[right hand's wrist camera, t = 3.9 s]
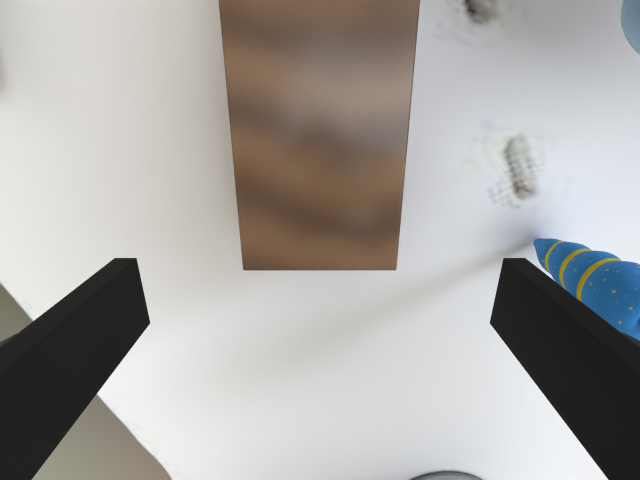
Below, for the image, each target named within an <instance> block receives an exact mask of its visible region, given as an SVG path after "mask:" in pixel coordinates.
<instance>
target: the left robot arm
mask: <svg viewBox="0 0 640 480" xmlns="http://www.w3.org/2000/svg"><path fill="white" fill-rule="evenodd" d="M621 24H622V28H623V31H624V34H625V37H626V38H627V40H628V42H629V43H630V45H631V46H632V47H633V48H634V50H635V51H636V52H638V53H639V54H640V0H624V1H623V4H622V10H621Z"/></svg>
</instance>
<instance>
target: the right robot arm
mask: <svg viewBox="0 0 640 480" xmlns="http://www.w3.org/2000/svg"><path fill="white" fill-rule="evenodd" d="M149 324H150V320H149V315H148V310H147V306H146V301H145V296H144V292H143V287H142V282H141V278H140V273H139V268H138V263H137V259H136V258H115V259H113V260H112V261H111V262H109V263H108V264H107V265H105V266H104V267H103V268H102V269H100V270H99V271H98V272H96V273H95V274H94V275H93V276H91V277H90V278H89V279H87V280H86V281H85V282H84V283H82V284H81V285H80V286H78V287H77V288H76V289H75V290H73V291H72V292H71V293H69V294H68V295H67V296H66V297H64V298H63V299H62V300H60V301H59V302H58V303H57V304H55V305H54V306H53V307H51V308H50V309H49V310H47V311H46V312H45V313H44V314H42V315H41V316H40V317H38V318H37V319H36V320H35V321H33V322H32V323H31V324H30V325H28V326H27V327H26V328H24V329H23V330H22V331H20V332H19V333H18V334H15V335H13V336H11V337H9V338H7V339H5V340H3V341H1V342H0V480H31V479H32V478H33V477H34V476H35V474H36V473H37V472H38V470H39V469H40V468H41V466H42V465H43V464H44V462H45V461H46V460H47V458H48V457H49V456H50V455H51V453H52V452H53V451H54V449H55V448H56V447H57V445H58V444H59V443H60V441H61V440H62V439H63V437H64V436H65V435H66V433H67V432H68V431H69V429H70V428H71V427H72V425H73V424H74V423H75V422H76V420H77V419H78V418H79V416H80V415H81V414H82V412H83V411H84V410H85V408H86V407H87V406H88V404H89V403H90V402H91V400H92V399H93V398H94V396H95V395H96V394H97V393H98V391H99V390H100V389H101V387H102V386H103V385H104V383H105V382H106V381H107V379H108V378H109V377H110V375H111V374H112V373H113V371H114V370H115V369H116V367H117V366H118V365H119V364H120V362H121V361H122V360H123V358H124V357H125V356H126V354H127V353H128V352H129V350H130V349H131V348H132V346H133V345H134V344H135V342H136V341H137V340H138V338H139V337H140V336H141V334H142V333H143V332H144V331H145V329H146V328H147V327H148V325H149ZM490 324H491V325H492V327H493V328H494V329H495V331H496V332H497V333H498V334H499V336H500V337H501V338H502V340H503V341H504V342H505V344H506V345H507V346H508V348H509V349H510V350H511V352H512V353H513V354H514V356H515V357H516V358H517V360H518V361H519V362H520V364H521V365H522V366H523V367H524V369H525V370H526V371H527V373H528V374H529V375H530V377H531V378H532V379H533V381H534V382H535V383H536V385H537V386H538V387H539V389H540V390H541V391H542V393H543V394H544V395H545V396H546V398H547V399H548V400H549V402H550V403H551V404H552V406H553V407H554V408H555V410H556V411H557V412H558V414H559V415H560V416H561V418H562V419H563V420H564V422H565V423H566V424H567V426H568V427H569V428H570V429H571V431H572V432H573V433H574V435H575V436H576V437H577V439H578V440H579V441H580V443H581V444H582V445H583V447H584V448H585V449H586V451H587V452H588V453H589V455H590V456H591V457H592V458H593V460H594V461H595V462H596V464H597V465H598V466H599V468H600V469H601V470H602V472H603V473H604V474H605V476H606V477H607V478H608V480H640V340H638V339H636V338H634V337H632V336H630V335H628V334H626V333H624V332H620V331H618V330H617V329H616V328H614V327H613V326H612V325H611V324H609V323H608V322H607V321H605V320H604V319H603V318H602V317H600V316H599V315H598V314H596V313H595V312H594V311H593V310H591V309H590V308H589V307H587V306H586V305H585V304H583V303H582V302H581V301H580V300H578V299H577V298H576V297H574V296H573V295H572V294H571V293H569V292H568V291H567V290H565V289H564V288H563V287H562V286H560V285H559V284H558V283H556V282H555V281H554V280H553V279H551V278H550V277H549V276H547V275H546V274H545V273H544V272H542V271H541V270H540V269H538V268H537V267H536V266H535V265H533V264H532V263H531V262H529V261H528V260H527V259H525V258H504V259H503V263H502V268H501V273H500V278H499V282H498V287H497V292H496V296H495V301H494V306H493V310H492V315H491V320H490ZM414 480H481V479H479V478H476V477H474V476H471V475H467V474H463V473H454V472H443V473H435V474H430V475H426V476H422V477H419V478H417V479H414Z"/></svg>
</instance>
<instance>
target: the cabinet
mask: <svg viewBox="0 0 640 480" xmlns="http://www.w3.org/2000/svg"><path fill="white" fill-rule="evenodd" d="M419 5H420V0H219V8H220V19H221V30H222V41H223V52H224V63H225V74H226V85H227V96H228V107H229V119H230V130H231V141H232V152H233V163H234V174H235V185H236V196H237V207H238V218H239V229H240V240H241V251H242V262H243V270H396V268H397V256H398V245H399V233H400V222H401V211H402V199H403V188H404V176H405V165H406V154H407V142H408V131H409V119H410V108H411V97H412V85H413V74H414V62H415V51H416V40H417V28H418V17H419Z"/></svg>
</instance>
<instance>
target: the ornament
mask: <svg viewBox="0 0 640 480" xmlns="http://www.w3.org/2000/svg"><path fill="white" fill-rule="evenodd" d="M534 246H535V249H536V253H537V257H538V260H539V262H540V264H541V266H542V267H543V268H544V269H545V270H546V271H547V272H549V273H550V274H551V275H552V277H553V279H554V280H555V282H556V283H558V284H559V285H560V286H562V287H563V288H564V289H565V290H567V291H568V292H569V293H571V294H572V295H573V296H574V297H576V298H577V299H578V300H580V301H581V302H582V303H583V304H585V305H586V306H587V307H589V308H590V309H591V310H593V311H594V312H595V313H596V314H598V315H599V316H600V317H602V318H603V319H604V320H605V321H607V322H608V323H609V324H611V325H612V326H613V327H614V328H616V329H617V330H618V331H620V332H624V333H626V334H628V335H630V336H632V337H634V338H636V339H638V340H640V264H637V263H633V262H627V261H621V260H620V259H619V258H618V257H617V256H615V255H613V254H611V253H607V252H603V251H592V250H591V249H589V248H588V247H586V246H584V245H582V244H578V243H572V242H564V241H561V240H557V239H541V238H539V239H536V240H535V241H534Z"/></svg>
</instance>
